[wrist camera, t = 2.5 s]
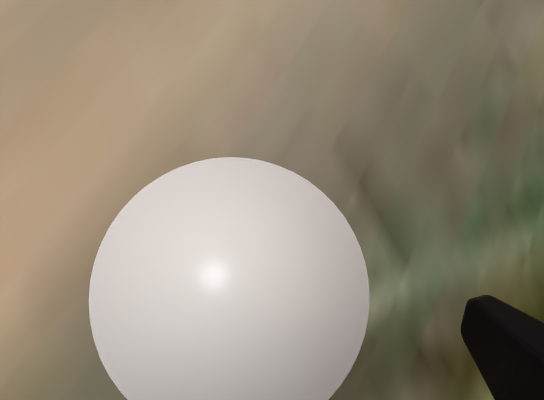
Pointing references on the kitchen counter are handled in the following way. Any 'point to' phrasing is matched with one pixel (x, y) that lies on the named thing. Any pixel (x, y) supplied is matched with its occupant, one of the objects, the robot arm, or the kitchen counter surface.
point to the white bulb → (229, 287)
